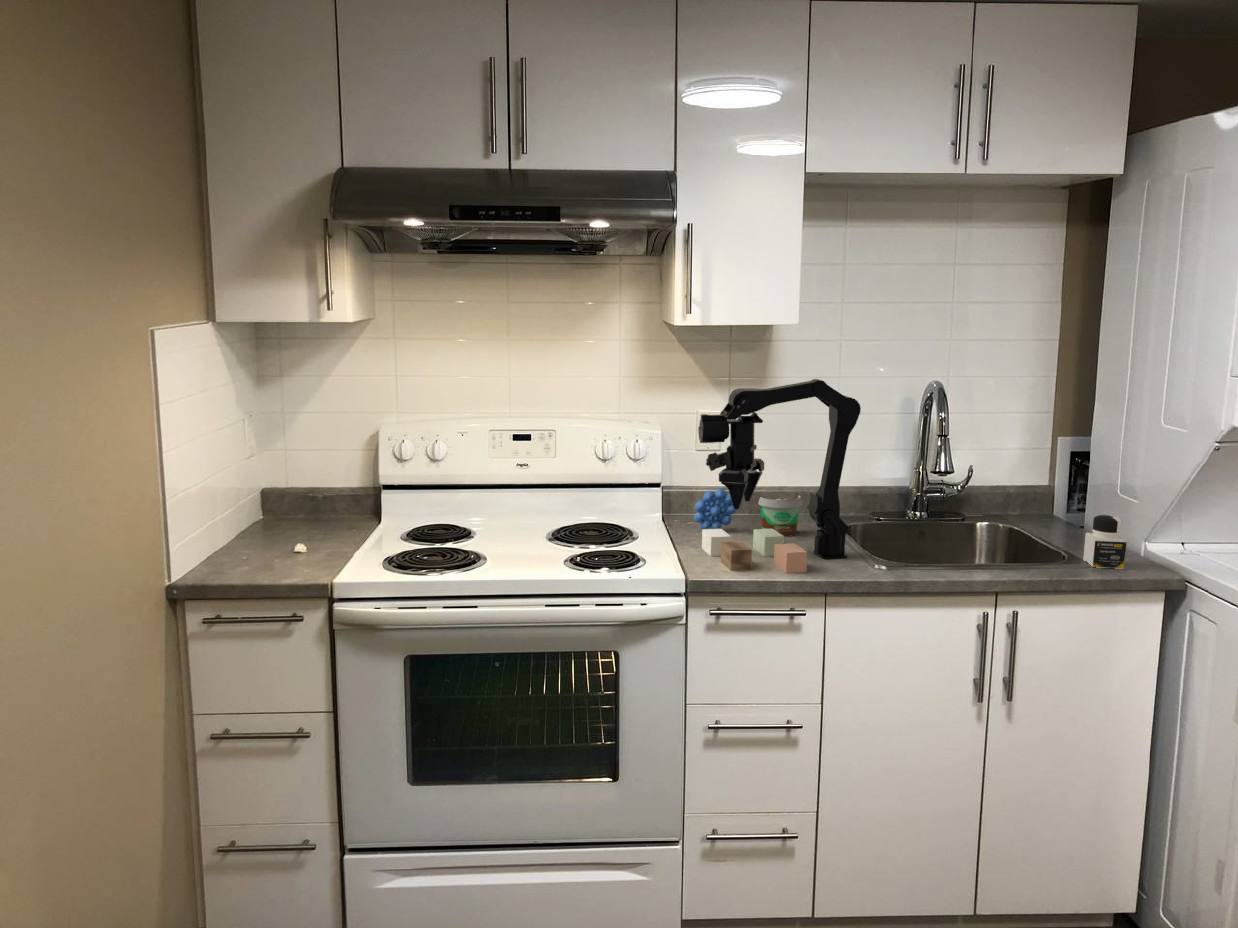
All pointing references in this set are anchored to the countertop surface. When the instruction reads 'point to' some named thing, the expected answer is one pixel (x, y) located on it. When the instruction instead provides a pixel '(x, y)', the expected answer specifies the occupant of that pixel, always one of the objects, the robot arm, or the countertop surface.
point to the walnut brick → (736, 555)
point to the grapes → (714, 510)
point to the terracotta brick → (790, 558)
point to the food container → (780, 514)
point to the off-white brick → (714, 540)
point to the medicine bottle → (1105, 543)
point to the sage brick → (766, 541)
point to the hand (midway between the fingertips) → (742, 505)
